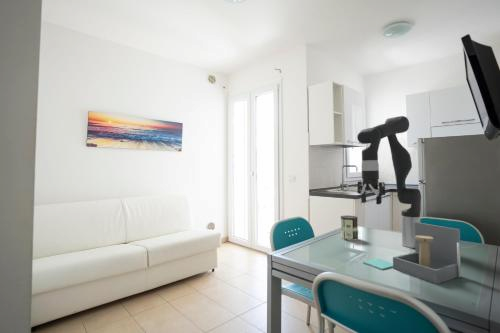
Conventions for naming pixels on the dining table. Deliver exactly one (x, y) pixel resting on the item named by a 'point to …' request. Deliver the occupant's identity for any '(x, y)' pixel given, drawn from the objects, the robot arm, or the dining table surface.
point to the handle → (424, 250)
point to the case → (433, 254)
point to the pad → (379, 264)
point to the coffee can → (349, 227)
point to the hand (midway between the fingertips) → (371, 203)
